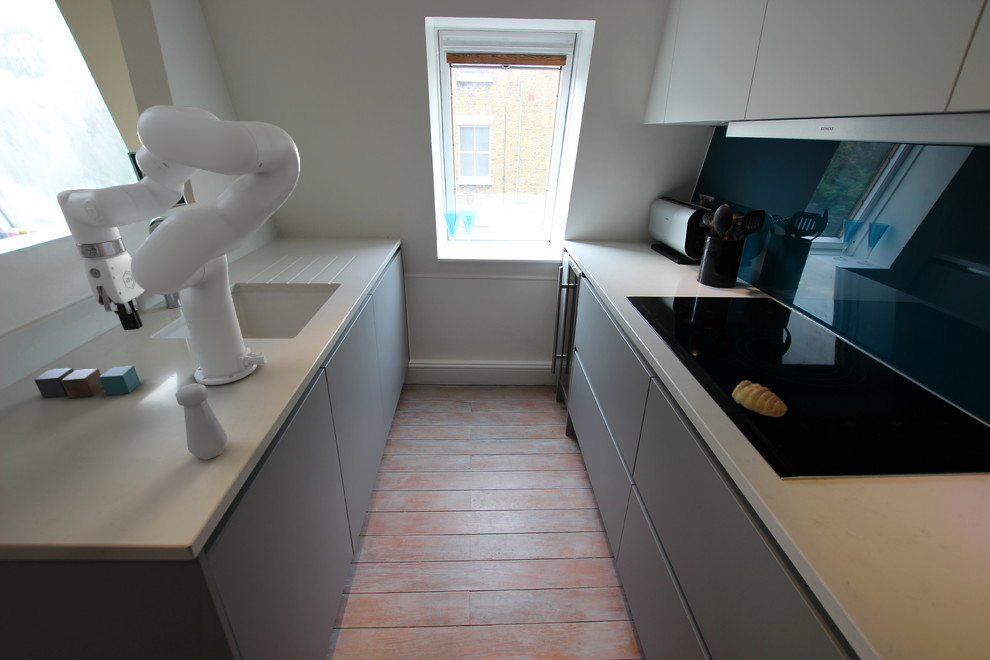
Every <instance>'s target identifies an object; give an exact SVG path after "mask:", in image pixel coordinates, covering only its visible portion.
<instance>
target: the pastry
mask: <svg viewBox="0 0 990 660" xmlns="http://www.w3.org/2000/svg"><path fill="white" fill-rule="evenodd" d="M731 397H732V398H733V399H734V400H735V403H737V404H741V405H742V406H743V407H744V408H746V409H748V410H751V411H753V412H754V413H757V414H761V415H762V416H766V417H773V418H781V417H782V416H784V415H785V414H786V412H787V411H788V407H787V406H786V404H785V402H783V400H782V399H781V398H780V397H778V396H777V395H776V393H774V392H771V390H770V389H769V388H768V387H763V386H762V385H761V384H760V383H752V382H751V381H750V380H743V381H741V382H740V383H739V384H737V386H735V388H734V390H733V392H732V393H731Z"/></svg>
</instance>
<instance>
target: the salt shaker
mask: <svg viewBox="0 0 990 660" xmlns="http://www.w3.org/2000/svg"><path fill="white" fill-rule="evenodd" d="M208 397H209V392H208V389H207V386H205V384H201V383H198V382H197V383H190V384H186V385H184V386H182V387H180V388H179V389H178V390H177V391H176V393H175V399H176V402H177V404H178V405H179V406H181V407H183V412H184V423H185V432H186V434H185V435H186V447H187V450H188V452H189V453H191V454H192V455H193V456H194V457H196V458H197V459H198V460H205V461H209V460H211V459H214V458H216V457H219V456H220V455H221V454H222V453H223V452H224V451H225V449H226V447H227V446H226V445H227V441H228V435H227V433H226V431H225V429H224V428H223V426H222V425H221V423H220V421H219V420H218V418H217V416H216V415H215V413H214V411H213V409H212V407H211V406H210V404H209V403H208V400H207V398H208Z"/></svg>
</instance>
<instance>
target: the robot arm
mask: <svg viewBox="0 0 990 660" xmlns="http://www.w3.org/2000/svg"><path fill="white" fill-rule="evenodd" d="M136 132H137V137H138V139H139V141H140V143H141V146H139V147H138V149H137V150H136V151H135V161H136V164H137V166H138V168H139V169H140V171H141V172H142V174H144V175H145V176H144V177H143V178H142V179H140V180H139V181H137V182H135V183H128V184H120V185H119V184H118V185H113V186H107V187H106V186H105V187H99V188H97V187H74V188H66V189H62V190H59V191H58V192H57V193H56V201H57V204H58V205H59V207H60V208H59V209H60V210H61V212H62V213H61V214H62V215H63V217H64V220H65V222H66V224H67V227H68V229H69V232H70V234H71V236H72V239H73V241H74V243H75V246H76V249H77V251H78V253H79V255H80V258H81V260H82V261H83V266H84V271H85V274H86V279H87V281H88V284H89V287H90V290H91V292H92V294H93V297H94V299H95V301H96V303H98V305H100V306H103V307H104V310H105V311H104V312H106V313H109V312H110V313H111V312H114V314H115V315H117V316H118V319H119V321H120V324H121V326H122V329H123V330H124V331H134V330H139V329H141V328H142V327H143V326H144V325H143V322H142V319H141V316H140V314H139V311H138V309H139V306H138V302H137V300H138V299H139V298H140V296H141V295H142V294H143V293H144V292H145V291H146V292H148V293H151V294H153V295H159V296H166V295H167V296H168V295H171V294H175V293H178V292H179V303H180V307H181V311H182V314H183V318H184V321H185V324H186V327H187V331H188V334H189V336H190V340H191V343H192V346H193V349H194V352H195V355H196V359H197V362H198V364H199V367H198V368H196V370H195V371H194V374H193V376H194V379H195V382H197V383H199V384H202V385H204V386H205V385H207V386H217V385H219V386H220V385H224V384H230V383H233V382H236V381H239V380H242V379H244V378H246V377H247V376H249V375H250V374H252V373H253V372H254V371H255V370H256V369H257V368H258V365H266V364H267V363H268V359H267V356H266V355H265V353H264V352H256V353H255V352H252V351H251V347H250V346H245V342H244V338H243V334H242V330H241V326H240V323H239V319H238V315H237V311H236V308H235V303H234V300H233V295H232V291H231V288H230V286H231V285H230V281H229V280H230V279H229V263H228V257H227V255H228V254H231V253H233V252H235V251H236V250H239V249H240V248H241V247H243V245H244V244H245V243H246V242H247V241H248V240H250V238H251V237H252V236H253V235H254V234H255V233H256V232H257V231H258V230H259V229H260V228H261V227H262V226H263V225H264V224H265V223H266V222H267V221H268V220H269V219H270V217H271V216H273V215H274V214H275V213H276V212H277V211H278V210H279V209H280V208H281V207H282V206H283V205H284V204H285V203H286V201H287V200H288V199H289V198H290V196H291V195H292V194H293V192H294V191H295V188H296V186H297V185H298V184H297V183H298V182H299V177H300V172H301V171H300V170H301V162H300V161H301V160H300V155H299V150H298V147H297V145H296V143H295V142H294V140H293V139H294V138H293V137H291V136H290V134H289V133H288V132H287V131H286V130H284V129H283V128H281V127H280V126H278V125H275V124H272V123H269V122H265V121H264V122H263V121H254V120H253V121H252V120H251V121H250V120H249V121H247V120H243V121H242V120H224V119H223V120H222V119H220V118H218V117H217V115H215V114H214V113H212V112H211V111H209V110H206V109H204V108H200V107H196V106H183V105H170V104H169V105H167V104H159V105H153V106H149V107H148V108H146V109H145V110H144V111H142V113H141V114H140V115H139V117H138V120H137V122H136ZM201 170H202V171H206V172H211V173H215V174H219V175H225V176H239V177H238V178H236V179H235V180H234V181H232V182H231V183H230V184H229V185H227V187H226V189H225V190H224V191H223V192H222V193H221V194H220V195H219V196H218V197H217V198H215V199H214V200H213V201H212V202H210V203H207V204H203V205H201V206H196V207H192V208H186V209H182V210H179V211H176V212H174V213H171V214H170V215H168V216H167V217H165V218H164V219H163V220H162V221H160V223H159V224H157V227H155V228H154V230H153V231H152V232H151V233H150V234H149V235H148V236H147V238H145V240H144V241H142V243H141V244H140V245H139V246H138V247H137V249H136V250H135V252H134V254H133V255H132V256H131V255H130V253H129V252H128V250H127V249H126V247H125V244H124V241H123V239H122V236H121V233H120V230H119V227H124V226H127V225H132V224H136V223H140V222H145V221H151V220H154V219H156V218H158V217H161V216H163V215H164V214H166V212H167V211H169V210H170V209H171V208H173V207H174V206H175V205H176V204H177V203H178V202H179V201H180V200H181V199H182V197H183V195H184V191H185V183H187V182H188V181H189V180H190V179H191V178H192V177H194V175H195V174H197V173H198V172H199V171H201Z"/></svg>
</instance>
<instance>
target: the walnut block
mask: <svg viewBox="0 0 990 660" xmlns="http://www.w3.org/2000/svg"><path fill="white" fill-rule="evenodd" d="M101 375H102V374H101V372H100V369H99V368H98V367H96V368H85V369H83V368H82V369H74V371H73V372H72V373H70V374H69V375H68V376H66V377H65V378H64V379H62V380H61V382H62V384H63V386H64V388H65V390H66V392H67V394H68V395H67V396H68V398H69V399H76V398H88V397H94V396H95V395H96V394H97V393H98V392H100V391H101V390H102V389H104V388H103V386H102V383H101V381H100V379H99V377H100V376H101Z"/></svg>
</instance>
